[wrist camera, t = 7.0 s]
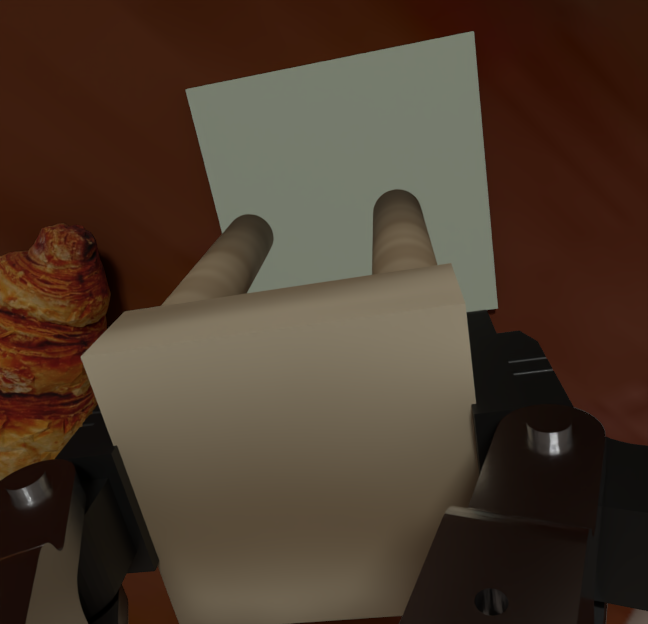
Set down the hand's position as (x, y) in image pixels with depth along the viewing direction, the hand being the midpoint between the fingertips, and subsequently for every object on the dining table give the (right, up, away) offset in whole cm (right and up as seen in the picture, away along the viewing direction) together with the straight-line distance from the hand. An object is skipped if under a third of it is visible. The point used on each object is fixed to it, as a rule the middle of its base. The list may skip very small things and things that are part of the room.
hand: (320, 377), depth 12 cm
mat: (+1, +6, +13) cm, 15 cm away
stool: (0, +2, +4) cm, 5 cm away
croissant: (-15, -2, +19) cm, 24 cm away
